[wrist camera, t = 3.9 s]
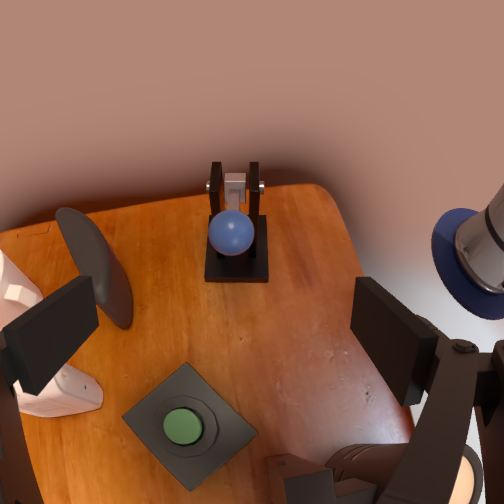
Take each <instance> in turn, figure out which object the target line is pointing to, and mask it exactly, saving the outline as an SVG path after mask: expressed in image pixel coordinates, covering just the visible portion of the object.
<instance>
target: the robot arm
mask: <svg viewBox="0 0 504 504" xmlns="http://www.w3.org/2000/svg"><path fill="white" fill-rule="evenodd" d="M463 221H464V220H463ZM453 253H454V257H455V260H456V262H457V265H458V267H459V269H460V270H461V272H462V274H463V275H464V276H465V278H466V279H467V280H468V281H469V282H470V284H471V285H473V286H474V287H475V288H476V289H477V290H479V291H480V292H482V293H484V294H486V295H490V296H500V295H503V294H504V184H503V186H502V187H501V189H500V190H499V191H498V193H497V194H496V195H495V197H494V198H493V199H492V201H491V202H490V204H489V205H488V206H487V208H486V209H485V210H483V211H481V212H479V213H478V214H476V215H474V216H472V217H470V218H469V219H467V220H466V219H465V221H464V222H463V223H462V224H461V225H460V226H459V228H458V229H457V230H456V232H455V234H454V237H453ZM98 326H99V321H98V315H97V309H96V303H95V296H94V289H93V282H92V276H81V275H79V276H78V277H76V278H75V279H73V280H72V281H70V282H69V283H67V284H65V285H64V286H62V287H61V288H59V289H58V290H56V291H55V292H53V293H52V294H50V295H49V296H47V297H46V298H44V299H43V300H42V301H40V302H39V303H37V304H36V305H34V306H33V307H31V308H30V309H28V310H27V311H26V312H24V313H23V314H21V315H20V316H19V317H17V318H16V319H14V320H13V321H11V322H10V323H9V324H7V325H6V326H5V327H3V328H2V330H1V331H0V504H44V502H43V499H42V496H41V493H40V490H39V487H38V484H37V481H36V478H35V474H34V471H33V468H32V464H31V460H30V457H29V453H28V449H27V445H26V441H25V436H24V432H23V427H22V422H21V417H20V412H19V406H18V400H17V393H16V391H15V388H14V385H13V384H14V383H15V382H16V381H17V380H18V381H19V383H20V386H21V389H22V391H23V393H27V394H30V395H34V396H38V395H39V394H40V393H41V391H42V390H43V389H44V388H45V387H46V385H47V384H48V383H49V382H50V381H51V380H52V378H53V377H54V376H55V375H56V374H57V373H58V371H59V370H60V369H61V368H62V367H63V366H64V364H65V363H66V362H67V361H68V360H69V359H70V358H71V356H72V355H73V354H74V353H75V352H76V351H77V350H78V348H79V347H80V346H81V345H82V344H83V343H84V342H85V341H86V340H87V338H88V337H89V336H90V335H91V334H92V333H93V332H94V331H95V330H96V328H97V327H98ZM350 329H351V330H352V332H353V333H354V335H355V336H356V338H357V339H358V341H359V342H360V344H361V345H362V347H363V348H364V350H365V351H366V353H367V354H368V356H369V357H370V359H371V360H372V362H373V363H374V365H375V367H376V368H377V370H378V371H379V373H380V374H381V376H382V377H383V379H384V380H385V382H386V383H387V385H388V387H389V388H390V390H391V391H392V393H393V394H394V396H395V398H396V399H397V401H398V402H399V404H400V405H401V407H405V406H411V405H415V404H419V403H420V402H421V399H422V395H423V392H424V390H425V391H426V392H427V394H428V397H427V400H426V403H425V405H424V408H423V410H422V413H421V415H420V418H419V420H418V423H417V425H416V427H415V429H414V432H413V434H412V436H411V438H410V441H409V443H408V445H407V447H406V449H405V451H404V453H403V456H402V458H401V460H400V462H399V464H398V466H397V468H396V470H395V471H394V473H393V475H392V477H391V479H390V481H389V483H388V485H387V486H386V488H385V490H384V492H383V493H382V494H381V496H380V497H379V499H378V500H377V502H376V504H449V501H450V498H451V495H452V492H453V489H454V486H455V482H456V479H457V475H458V472H459V468H460V465H461V461H462V457H463V453H464V448H465V444H466V440H467V435H468V430H469V425H470V419H471V414H472V408H473V407H474V410H475V415H476V421H477V427H478V433H479V439H480V446H481V454H482V462H483V472H484V483H485V498H486V504H504V340H500V341H497V342H496V343H495V346H494V349H493V353H479V349H478V347H477V346H476V345H475V344H473V343H472V342H470V341H466V340H462V339H452V340H451V339H449V338H448V337H447V336H446V335H445V334H444V333H442V332H441V331H440V330H438V328H437V327H435V326H434V325H433V324H432V323H431V322H430V321H428V320H427V319H425V318H423V317H421V316H419V315H415V314H414V313H412V312H411V311H410V310H409V309H408V308H407V307H406V306H404V305H403V304H402V303H401V302H400V301H399V300H397V299H396V298H395V297H394V296H393V295H391V294H390V293H389V292H388V291H387V290H386V289H384V288H383V287H382V286H381V285H380V284H378V283H377V282H376V281H375V280H373V279H372V278H371V277H356V281H355V291H354V300H353V309H352V317H351V325H350Z"/></svg>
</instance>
